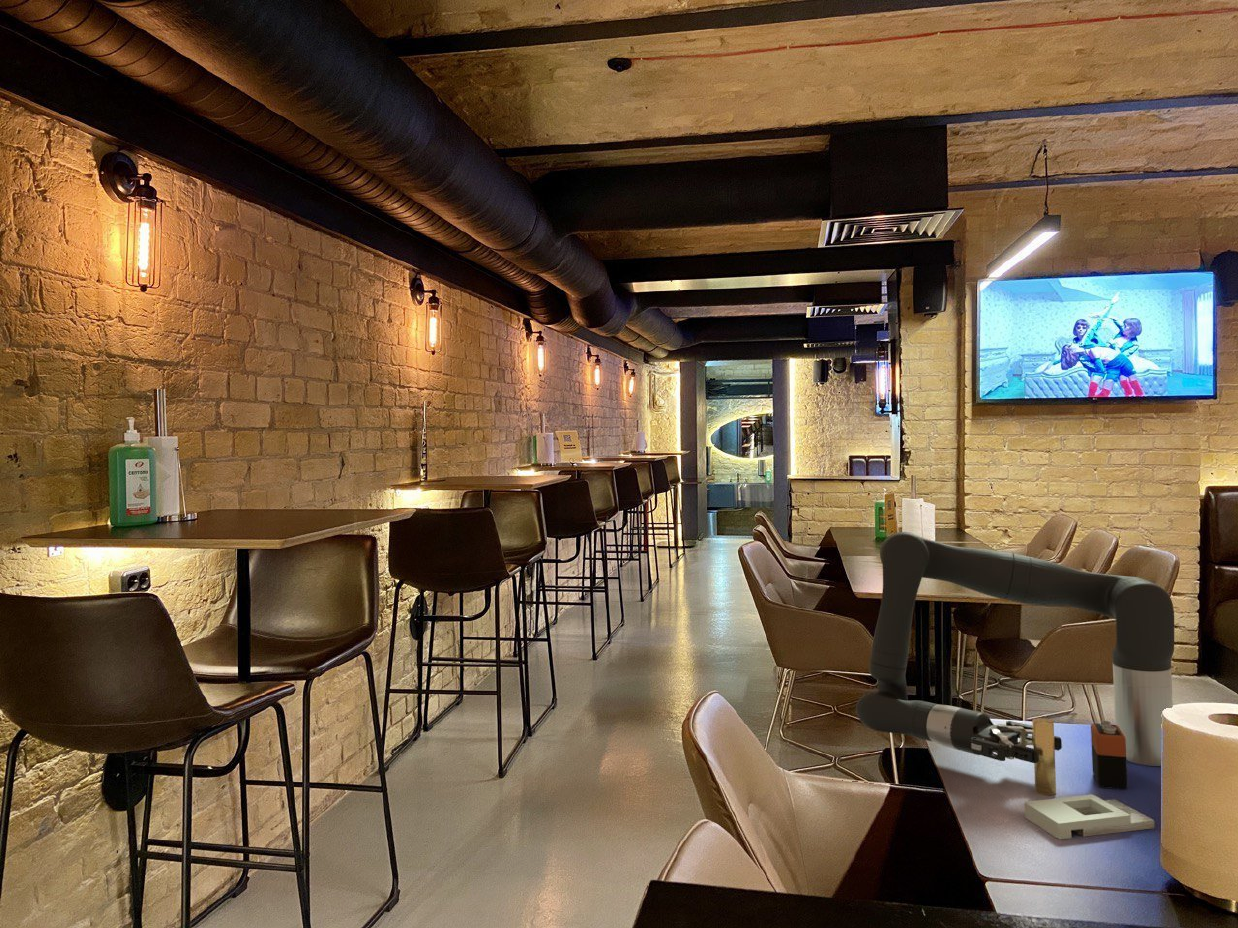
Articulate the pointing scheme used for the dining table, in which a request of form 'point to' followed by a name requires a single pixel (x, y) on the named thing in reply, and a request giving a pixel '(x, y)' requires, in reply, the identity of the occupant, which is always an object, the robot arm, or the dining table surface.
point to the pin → (1044, 756)
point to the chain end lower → (1136, 823)
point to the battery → (1109, 755)
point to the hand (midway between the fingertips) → (1049, 750)
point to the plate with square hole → (1072, 814)
